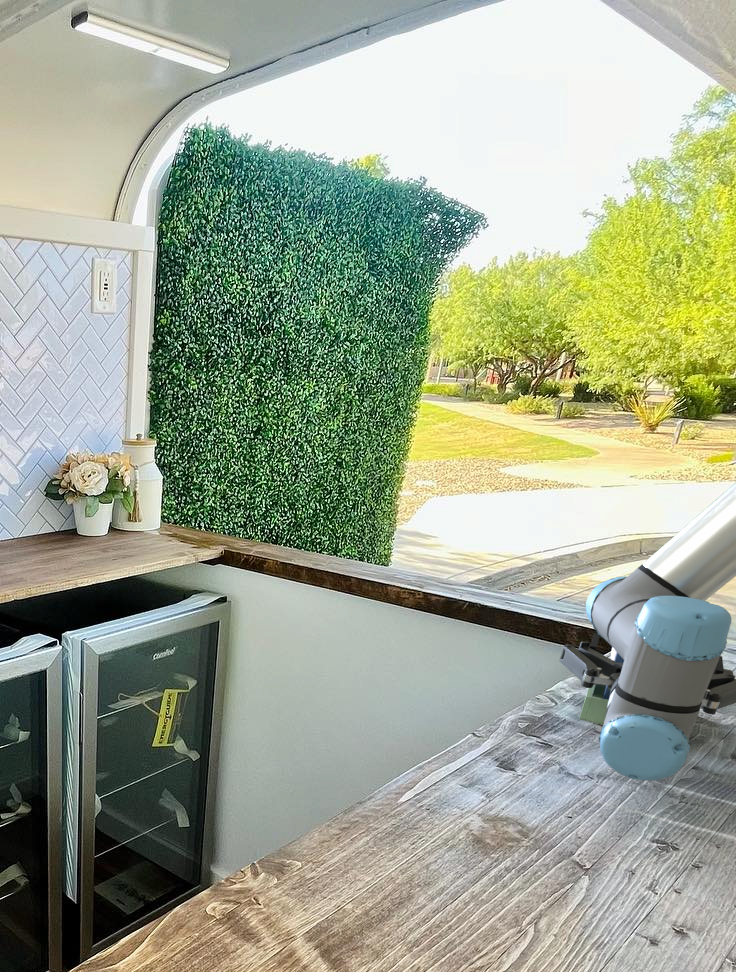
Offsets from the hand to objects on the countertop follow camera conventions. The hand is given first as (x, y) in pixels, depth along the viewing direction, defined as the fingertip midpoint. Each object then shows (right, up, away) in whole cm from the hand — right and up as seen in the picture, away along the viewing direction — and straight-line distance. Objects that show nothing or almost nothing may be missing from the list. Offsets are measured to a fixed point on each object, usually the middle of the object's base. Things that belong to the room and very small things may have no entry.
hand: (652, 652), depth 109 cm
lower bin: (-2, -10, +2) cm, 10 cm away
